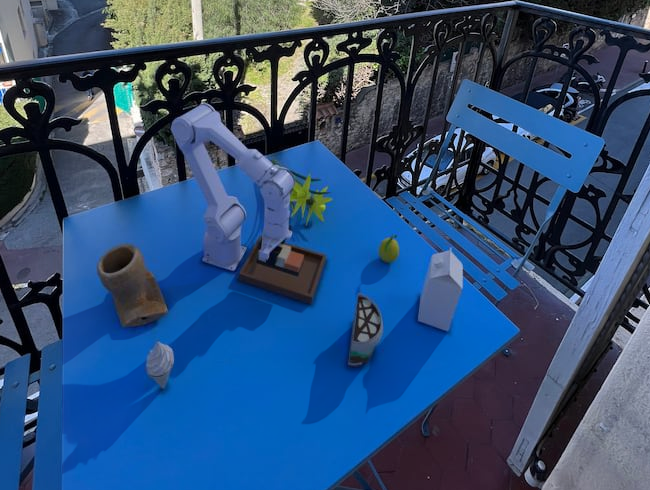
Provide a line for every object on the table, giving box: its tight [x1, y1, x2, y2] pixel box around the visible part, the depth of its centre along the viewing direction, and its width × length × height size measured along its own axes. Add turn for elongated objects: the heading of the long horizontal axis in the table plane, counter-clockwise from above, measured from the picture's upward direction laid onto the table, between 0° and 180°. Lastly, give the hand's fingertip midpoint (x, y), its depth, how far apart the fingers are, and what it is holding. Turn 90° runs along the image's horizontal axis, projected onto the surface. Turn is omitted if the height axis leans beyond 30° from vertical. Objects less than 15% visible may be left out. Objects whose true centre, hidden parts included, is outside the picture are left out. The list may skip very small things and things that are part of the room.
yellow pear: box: [378, 232, 400, 263], centre depth 110 cm, size 7×6×10 cm
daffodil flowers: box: [270, 158, 333, 227], centre depth 127 cm, size 17×15×35 cm
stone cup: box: [96, 243, 168, 328], centre depth 92 cm, size 15×12×15 cm
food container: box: [347, 292, 384, 368], centre depth 88 cm, size 12×6×10 cm, turn 168°
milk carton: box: [417, 247, 464, 332], centre depth 95 cm, size 7×7×19 cm
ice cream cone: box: [145, 340, 175, 390], centre depth 77 cm, size 5×5×15 cm
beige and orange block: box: [256, 243, 304, 277], centre depth 100 cm, size 11×4×4 cm, turn 73°
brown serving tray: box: [238, 234, 327, 305], centre depth 107 cm, size 20×14×2 cm
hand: (274, 257), depth 101 cm, fingers closed on beige and orange block, 4 cm apart
